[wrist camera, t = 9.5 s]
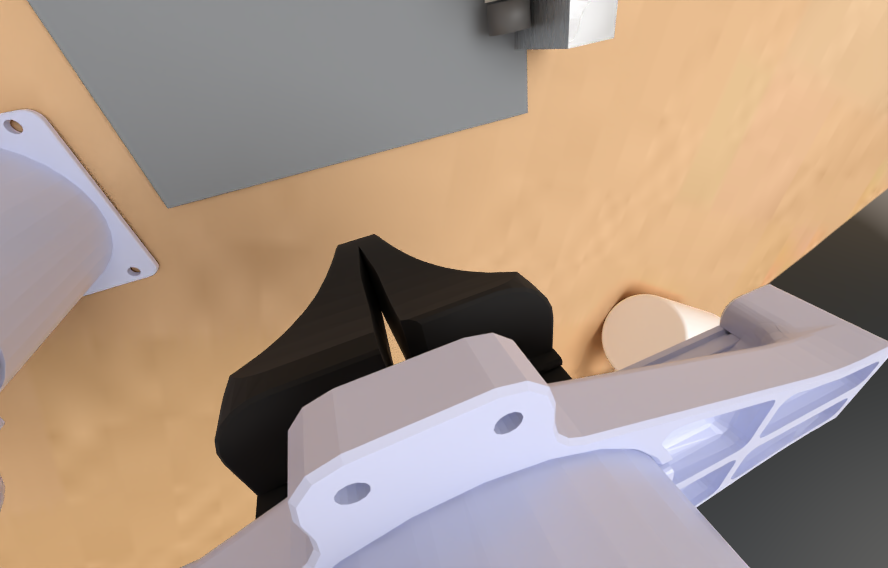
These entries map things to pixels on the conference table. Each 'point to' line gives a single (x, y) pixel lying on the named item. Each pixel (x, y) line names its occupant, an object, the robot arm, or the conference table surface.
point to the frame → (567, 24)
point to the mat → (282, 81)
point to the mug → (650, 327)
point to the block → (508, 16)
